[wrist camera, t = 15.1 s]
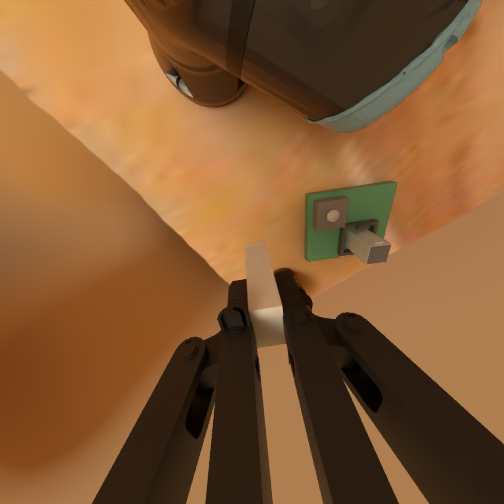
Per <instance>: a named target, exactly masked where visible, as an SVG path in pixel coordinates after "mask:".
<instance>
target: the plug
mask: <svg viewBox="0 0 504 504" xmlns="http://www.w3.org/2000/svg"><path fill="white" fill-rule="evenodd" d="M345 247H347V248H348V249H349V250H350V251H351V252H352V253H353V254H355V255H356V256H357V257H358V258H359V259H360V260H361V261H363V262H364V263H365V264H372V263H380V262H386V260H387V257H388V254H389V250H390V247H391V243H389V242H387V241H386V240H384V239H382V238H381V237H379V236H377V235H376V234H374V233H372V232H371V231H369V230H367V229H359V230H358V229H353V230H347V236H346V242H345Z"/></svg>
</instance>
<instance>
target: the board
mask: <svg viewBox="0 0 504 504" xmlns="http://www.w3.org/2000/svg"><path fill="white" fill-rule="evenodd" d="M397 183H398V182H393V181H386V182H380V183H373V184H366V185H360V186H353V187H346V188H340V189H333V190H326V191H320V192H313V193H306V202H305V259H306V260H307V262H309V261H316V260H323V259H330V258H337V257H343V256H350V255H355V254H353V253H352V252H351V251H350V250H349V249H348V248H347V247H345V242H346V236H347V230H353V229H358V230H359V229H367V230H369V231H371V232H372V233H374V234H376V235H377V236H379V237H381V238H382V239H383V238H384V234H385V230H386V226H387V222H388V218H389V214H390V210H391V206H392V202H393V198H394V194H395V191H396V187H397Z"/></svg>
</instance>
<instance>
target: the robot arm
mask: <svg viewBox="0 0 504 504" xmlns="http://www.w3.org/2000/svg"><path fill="white" fill-rule="evenodd" d="M124 1H125V2H126V3H127V5H128V6H129V7H130V9H131V10H132V11H133V13H134V14H135V15H136V17H137V18H138V19H139V20H140V22H141V23H142V24H143V26H144V27H145V28H146V30H147V31H148V36H149V40H150V43H151V46H152V49H153V52H154V54H155V57H156V59H157V61H158V63H159V65H160V67H161V69H162V70H163V72H164V74H165V75H166V76H167V78H168V79H169V80H170V82H171V83H172V84H173V85H174V86H175V87H176V88H177V89H178V90H179V91H180V92H181V93H182V94H183V95H184V96H185V97H187V98H188V99H190V100H191V101H193V102H195V103H197V104H200V105H203V106H208V107H218V106H222V105H225V104H228V103H230V102H232V101H233V100H235V99H236V98H237V97H238V96H239V95H240V94H241V93H242V92H243V91H244V89H245V88H246V86H247V85H248V84H249V85H250V86H252V87H254V88H256V89H257V90H259V91H261V92H263V93H264V94H266V95H268V96H270V97H271V98H273V99H275V100H276V101H278V102H280V103H282V104H283V105H285V106H287V107H289V108H290V109H292V110H294V111H296V112H297V113H299V114H301V115H302V116H304V119H305V120H306V121H308V122H309V123H312V124H319V125H321V126H323V127H325V128H327V129H329V130H331V131H333V132H336V133H347V132H353V131H356V130H359V129H361V128H364V127H366V126H368V125H369V124H371V123H373V122H375V121H376V120H378V119H380V118H381V117H382V116H384V115H385V114H387V113H388V112H389V111H391V110H392V109H393V108H395V107H396V106H397V105H398V104H400V103H401V102H402V101H403V100H405V99H406V98H407V97H408V96H409V95H410V94H411V93H412V92H413V91H414V90H416V89H417V88H418V87H419V86H420V85H421V84H422V83H423V82H424V81H425V80H426V79H427V78H428V77H429V76H430V75H431V74H432V72H433V71H434V70H435V69H436V68H437V67H438V66H439V65H440V63H441V62H442V61H443V58H444V54H443V53H444V52H445V51H446V50H447V49H449V48H450V47H452V46H453V45H454V44H456V43H457V42H458V41H459V40H460V38H461V37H462V36H463V34H464V33H465V31H466V30H467V28H468V27H469V25H470V24H471V22H472V21H473V19H474V17H475V15H476V13H477V11H478V9H479V7H480V5H481V2H482V0H124ZM245 257H246V275H247V279H243V280H237V281H232V283H231V285H230V286H229V292H228V294H229V295H228V306H227V307H226V308H225V309H223V310H222V311H221V312H220V313H219V315H218V318H217V319H218V322H219V325H220V327H221V331H220V332H219V333H217V334H216V335H214V336H212V337H210V338H208V339H206V340H204V341H203V340H202V339H201V338H199V337H191V338H189V339H186V340H185V341H183V342H182V343H181V344H180V345H179V346H178V348H177V349H176V350H175V352H174V354H173V356H172V358H171V360H170V362H169V363H168V365H167V367H166V369H165V371H164V372H163V374H162V376H161V378H160V380H159V382H158V384H157V385H156V387H155V389H154V391H153V393H152V395H151V396H150V398H149V400H148V402H147V404H146V406H145V407H144V409H143V411H142V413H141V415H140V417H139V418H138V420H137V422H136V424H135V426H134V427H133V429H132V431H131V433H130V435H129V437H128V439H127V440H126V442H125V444H124V446H123V448H122V449H121V451H120V453H119V455H118V457H117V459H116V461H115V462H114V464H113V466H112V468H111V470H110V471H109V473H108V475H107V477H106V479H105V481H104V482H103V484H102V486H101V488H100V490H99V492H98V493H97V495H96V497H95V499H94V501H93V503H92V504H186V501H187V498H188V494H189V491H190V487H191V483H192V480H193V477H194V473H195V470H196V466H197V462H198V459H199V456H200V452H201V449H202V445H203V441H204V438H205V435H206V431H207V428H208V424H209V421H210V417H211V414H212V410H213V407H214V403H215V408H214V419H213V429H212V440H211V450H210V461H209V471H208V482H207V492H206V502H205V504H273V501H272V491H271V480H270V471H269V460H268V450H267V439H266V428H265V418H264V407H263V397H262V387H261V376H260V366H259V358H258V354H257V348H260V347H267V346H273V345H280V344H287V348H288V357H289V364H290V365H291V369H292V373H293V377H294V382H295V386H296V390H297V394H298V399H299V403H300V407H301V411H302V415H303V420H304V423H305V428H306V432H307V437H308V441H309V445H310V449H311V453H312V458H313V462H314V466H315V470H316V474H317V479H318V483H319V488H320V491H321V496H322V500H323V504H399V503H398V501H397V498H396V496H395V494H394V492H393V490H392V488H391V485H390V483H389V481H388V478H387V476H386V474H385V472H384V470H383V467H382V465H381V463H380V461H379V459H378V456H377V454H376V452H375V450H374V447H373V445H372V443H371V441H370V439H369V436H368V434H367V432H366V430H365V428H364V425H363V423H362V421H361V419H360V416H359V414H358V412H357V410H356V407H355V405H354V403H353V401H352V399H351V396H350V394H349V392H348V390H347V388H346V385H345V383H346V384H347V386H348V387H349V389H350V390H351V391H352V393H353V394H354V396H355V397H356V399H357V400H358V402H359V403H360V405H361V406H362V407H363V409H364V410H365V412H366V413H367V414H368V416H369V417H370V419H371V420H372V422H373V423H374V425H375V426H376V428H377V429H378V430H379V432H380V433H381V434H382V436H383V438H384V439H385V441H386V442H387V443H388V445H389V446H390V448H391V449H392V451H393V452H394V453H395V455H396V456H397V458H398V459H399V461H400V462H401V464H402V465H403V466H404V468H405V469H406V470H407V472H408V474H409V475H410V476H411V478H412V479H413V481H414V482H415V484H416V485H417V486H418V488H419V489H420V491H421V492H422V494H423V495H424V497H425V498H426V500H427V501H428V502H429V504H504V444H503V443H502V442H501V441H500V440H498V439H497V438H496V437H495V436H494V435H493V434H492V433H491V432H490V431H489V430H487V429H486V428H485V427H484V426H483V425H482V424H481V423H480V422H479V421H478V420H476V419H475V418H474V417H473V416H472V415H471V414H470V413H469V412H468V411H466V410H465V409H464V408H463V407H462V406H461V405H460V404H459V403H458V402H457V401H456V400H454V399H453V398H452V397H451V396H450V395H449V394H448V393H447V392H445V390H443V389H442V388H441V387H440V386H439V385H438V384H437V383H436V382H435V381H433V380H432V379H431V378H430V377H429V376H428V375H427V374H426V373H424V371H422V370H421V369H420V368H419V367H418V366H417V365H416V364H415V363H413V362H412V361H411V360H410V359H409V358H408V357H407V356H406V355H405V354H404V353H403V352H402V351H400V350H399V349H398V348H397V347H396V346H395V345H394V344H393V343H391V342H390V341H389V340H388V339H387V338H386V337H385V336H384V335H383V334H382V333H381V332H379V331H378V330H377V329H376V328H375V327H374V326H373V325H372V324H371V323H369V322H368V321H367V320H366V319H365V318H363V317H362V316H360V315H357V314H355V313H348V312H346V313H341V314H340V315H338V316H337V318H336V319H329V318H323V317H319V316H316V315H314V314H313V313H312V312H310V311H309V310H308V308H307V306H306V304H305V302H304V299H303V297H302V295H301V293H300V290H299V288H298V286H297V283H296V281H295V279H294V276H293V275H291V274H290V273H289V272H283V273H277V274H273V271H272V267H271V263H270V260H269V256H268V253H267V249H266V245H265V242H264V241H259V242H253V243H247V244H245ZM343 380H344V381H345V383H344V381H343Z"/></svg>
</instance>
